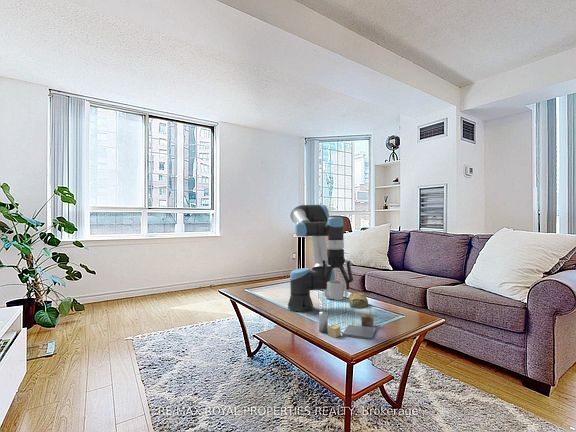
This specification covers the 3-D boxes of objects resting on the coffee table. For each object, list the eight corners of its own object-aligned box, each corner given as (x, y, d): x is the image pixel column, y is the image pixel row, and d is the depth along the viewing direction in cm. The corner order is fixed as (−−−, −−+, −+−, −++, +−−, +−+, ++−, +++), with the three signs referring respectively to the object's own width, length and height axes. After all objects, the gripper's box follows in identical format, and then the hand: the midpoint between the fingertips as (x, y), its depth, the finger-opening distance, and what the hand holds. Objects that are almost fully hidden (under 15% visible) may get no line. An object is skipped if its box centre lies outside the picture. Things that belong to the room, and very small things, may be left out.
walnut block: (361, 326, 146) (361, 316, 146) (363, 323, 151) (363, 313, 151) (372, 328, 144) (371, 317, 144) (373, 324, 149) (373, 314, 149)
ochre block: (328, 335, 136) (328, 326, 136) (333, 333, 139) (333, 324, 139) (335, 337, 133) (335, 328, 133) (340, 335, 136) (340, 326, 136)
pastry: (358, 301, 193) (357, 289, 193) (373, 305, 183) (373, 292, 183) (342, 305, 185) (342, 292, 185) (357, 310, 175) (357, 296, 175)
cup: (325, 295, 152) (325, 279, 152) (341, 295, 152) (340, 279, 152) (329, 300, 141) (329, 283, 141) (346, 300, 141) (346, 283, 142)
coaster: (342, 335, 135) (342, 333, 135) (348, 326, 147) (348, 324, 147) (372, 339, 130) (372, 337, 130) (376, 329, 142) (375, 327, 142)
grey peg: (318, 332, 140) (317, 312, 140) (320, 329, 144) (320, 310, 144) (326, 333, 138) (326, 313, 139) (328, 330, 142) (328, 311, 142)
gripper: (313, 249, 148) (314, 295, 147) (355, 249, 139) (357, 299, 138) (318, 247, 155) (319, 292, 154) (359, 248, 146) (360, 295, 145)
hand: (337, 295), depth 146 cm, fingers closed on cup, 8 cm apart
